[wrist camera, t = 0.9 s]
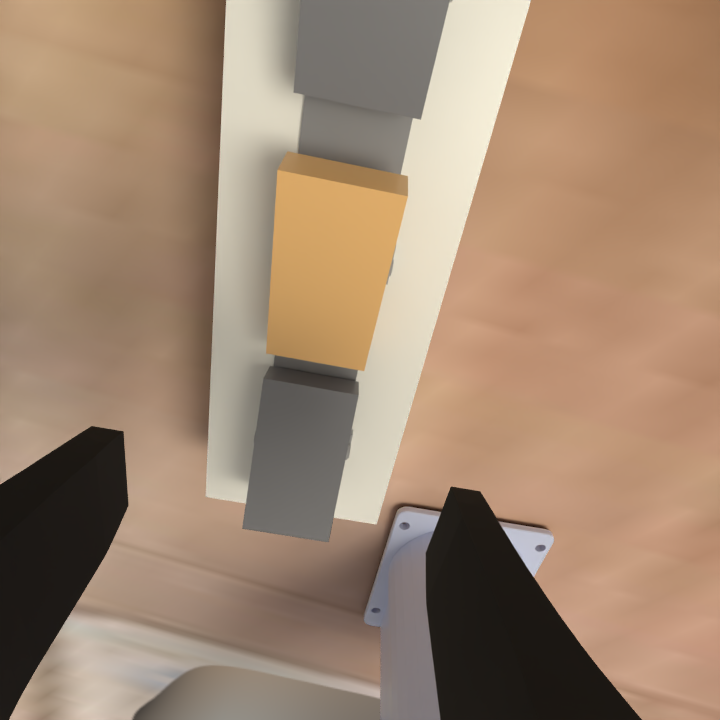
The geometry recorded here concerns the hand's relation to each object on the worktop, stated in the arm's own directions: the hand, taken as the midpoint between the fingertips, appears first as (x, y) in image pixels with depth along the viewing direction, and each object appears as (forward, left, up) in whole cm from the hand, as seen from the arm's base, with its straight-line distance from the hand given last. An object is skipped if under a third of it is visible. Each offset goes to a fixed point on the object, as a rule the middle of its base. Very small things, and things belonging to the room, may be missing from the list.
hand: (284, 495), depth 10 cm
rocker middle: (+3, 0, -6) cm, 7 cm away
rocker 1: (-4, 0, -6) cm, 8 cm away
